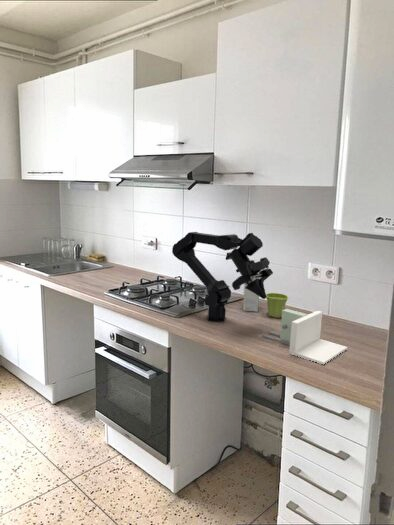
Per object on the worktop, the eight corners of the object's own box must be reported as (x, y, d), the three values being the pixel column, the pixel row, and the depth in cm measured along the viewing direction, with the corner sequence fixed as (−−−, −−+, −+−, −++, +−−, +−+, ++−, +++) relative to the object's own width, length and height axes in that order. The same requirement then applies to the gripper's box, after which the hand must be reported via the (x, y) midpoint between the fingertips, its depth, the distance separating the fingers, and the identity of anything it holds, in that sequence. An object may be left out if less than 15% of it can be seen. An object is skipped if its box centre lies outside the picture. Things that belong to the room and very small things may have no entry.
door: (278, 341, 146) (280, 311, 144) (284, 338, 149) (286, 308, 147) (298, 347, 141) (301, 316, 139) (304, 344, 144) (307, 314, 142)
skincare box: (257, 312, 179) (260, 277, 176) (242, 310, 180) (244, 275, 177) (258, 306, 187) (261, 273, 184) (243, 305, 189) (246, 271, 186)
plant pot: (282, 312, 181) (283, 292, 179) (290, 319, 172) (291, 298, 170) (261, 312, 179) (262, 292, 178) (268, 319, 170) (269, 298, 169)
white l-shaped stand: (251, 340, 146) (253, 310, 144) (278, 328, 159) (280, 301, 157) (323, 365, 129) (327, 331, 127) (346, 349, 142) (350, 318, 140)
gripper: (240, 254, 144) (264, 292, 140) (270, 247, 158) (293, 282, 153) (222, 271, 151) (244, 308, 147) (252, 263, 165) (273, 297, 160)
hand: (265, 298), depth 152 cm, fingers closed
